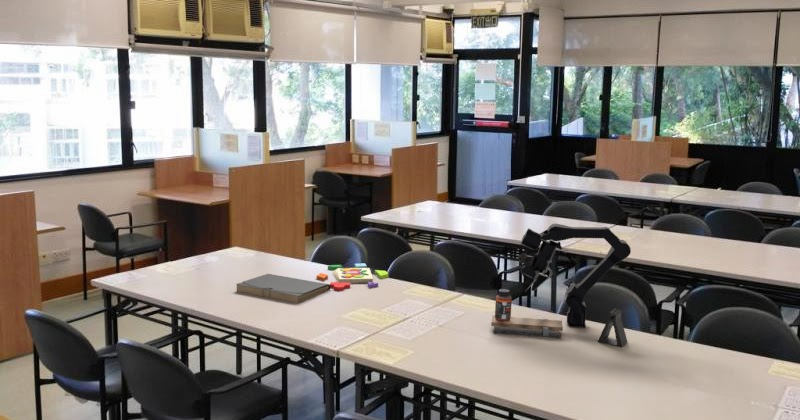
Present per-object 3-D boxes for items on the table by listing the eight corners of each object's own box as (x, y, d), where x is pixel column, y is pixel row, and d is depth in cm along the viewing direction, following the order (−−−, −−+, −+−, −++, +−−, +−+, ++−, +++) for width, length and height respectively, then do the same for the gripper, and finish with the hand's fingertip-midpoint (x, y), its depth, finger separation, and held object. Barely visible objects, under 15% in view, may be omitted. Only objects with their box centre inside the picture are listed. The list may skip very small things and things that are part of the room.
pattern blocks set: (306, 271, 355) (306, 265, 354) (371, 266, 368) (371, 260, 367) (331, 292, 320) (331, 285, 320) (401, 285, 334) (401, 279, 333)
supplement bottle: (507, 322, 272) (509, 293, 270) (492, 320, 274) (493, 291, 273) (512, 318, 277) (514, 289, 275) (497, 315, 280) (499, 287, 278)
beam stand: (558, 328, 278) (559, 319, 278) (559, 338, 267) (560, 329, 267) (494, 323, 282) (495, 315, 282) (493, 333, 272) (493, 324, 271)
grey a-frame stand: (627, 342, 265) (630, 311, 262) (622, 347, 260) (624, 315, 258) (603, 337, 270) (605, 306, 268) (597, 342, 265) (599, 310, 263)
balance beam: (561, 324, 276) (561, 320, 276) (562, 331, 268) (562, 327, 268) (492, 319, 281) (492, 315, 280) (491, 326, 273) (491, 321, 273)
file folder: (235, 283, 317) (270, 272, 338) (235, 292, 318) (270, 280, 339) (298, 294, 302) (330, 282, 323) (298, 304, 303) (330, 291, 324)
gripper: (536, 245, 292) (520, 280, 295) (517, 245, 277) (500, 281, 280) (560, 258, 287) (543, 293, 290) (542, 258, 271) (525, 295, 274)
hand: (527, 290), depth 283 cm, fingers open, 9 cm apart
